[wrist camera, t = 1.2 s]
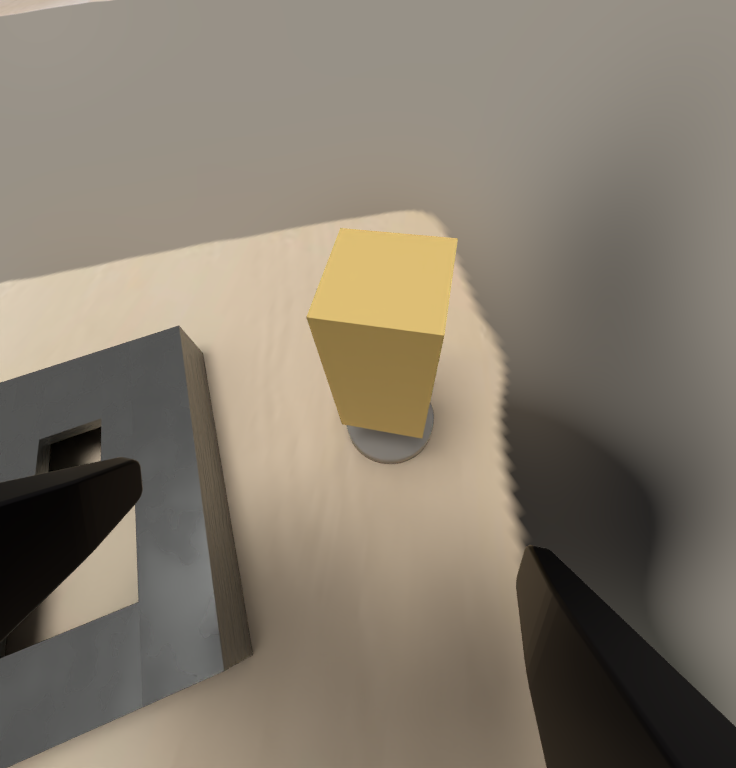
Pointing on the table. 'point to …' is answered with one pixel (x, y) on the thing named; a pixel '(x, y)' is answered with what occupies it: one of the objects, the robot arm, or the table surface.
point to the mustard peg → (383, 335)
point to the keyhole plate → (153, 536)
